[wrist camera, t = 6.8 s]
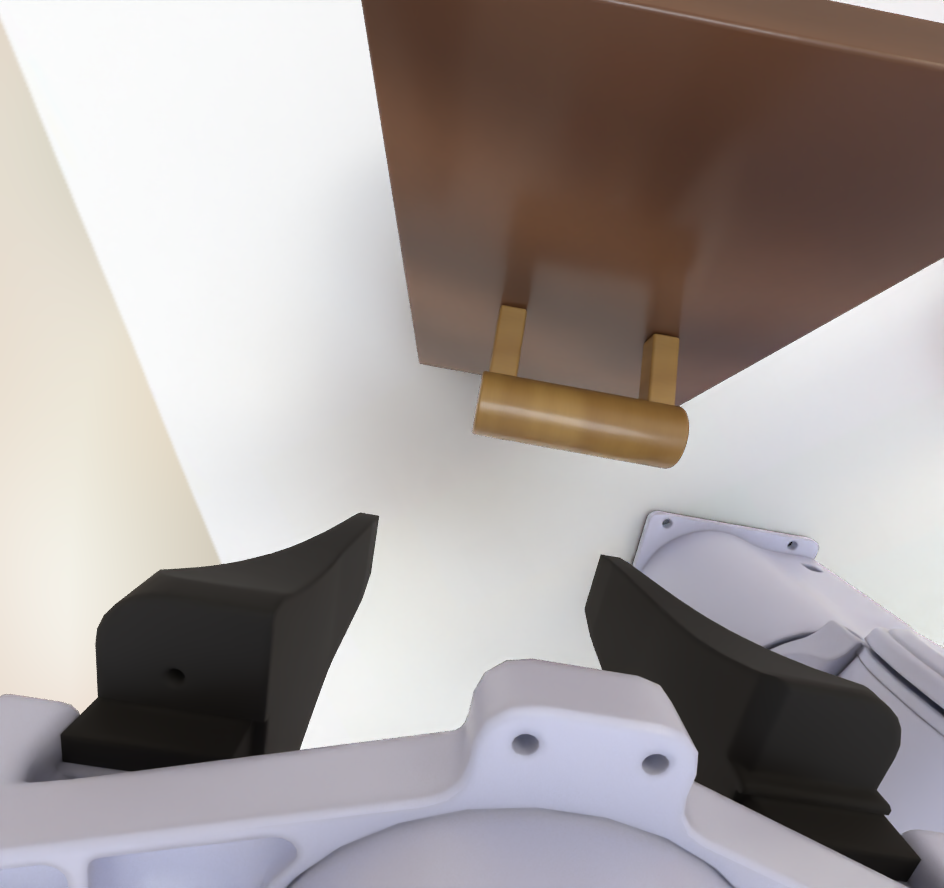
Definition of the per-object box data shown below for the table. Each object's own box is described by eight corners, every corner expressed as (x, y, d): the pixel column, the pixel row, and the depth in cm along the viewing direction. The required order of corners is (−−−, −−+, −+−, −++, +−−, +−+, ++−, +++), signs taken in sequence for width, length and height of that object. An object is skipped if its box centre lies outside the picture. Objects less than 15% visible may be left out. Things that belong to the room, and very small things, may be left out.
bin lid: (365, -98, 5) (266, 214, 4) (1185, 68, 5) (1265, 403, 4) (422, 346, 16) (399, 453, 15) (673, 392, 16) (665, 500, 15)
